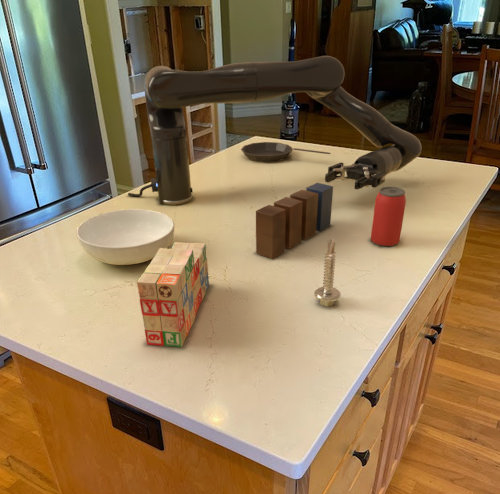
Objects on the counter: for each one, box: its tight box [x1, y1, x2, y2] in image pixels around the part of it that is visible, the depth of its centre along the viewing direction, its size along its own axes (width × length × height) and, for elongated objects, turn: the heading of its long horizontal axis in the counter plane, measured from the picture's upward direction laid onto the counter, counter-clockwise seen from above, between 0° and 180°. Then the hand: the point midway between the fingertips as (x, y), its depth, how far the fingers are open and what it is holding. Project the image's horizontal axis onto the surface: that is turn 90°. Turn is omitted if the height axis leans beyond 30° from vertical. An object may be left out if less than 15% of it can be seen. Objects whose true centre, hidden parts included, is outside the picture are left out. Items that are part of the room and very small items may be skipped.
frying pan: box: [240, 141, 332, 163], centre depth 174 cm, size 18×32×4 cm, turn 62°
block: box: [305, 182, 334, 233], centre depth 124 cm, size 5×5×10 cm
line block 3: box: [289, 189, 318, 241], centre depth 120 cm, size 5×5×10 cm
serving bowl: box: [76, 208, 175, 266], centre depth 113 cm, size 21×21×7 cm
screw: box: [313, 238, 342, 307], centre depth 93 cm, size 13×5×5 cm
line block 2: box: [273, 196, 303, 250], centre depth 116 cm, size 5×5×10 cm
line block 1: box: [255, 204, 286, 260], centre depth 112 cm, size 5×5×10 cm
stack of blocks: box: [136, 241, 210, 348], centre depth 91 cm, size 21×6×12 cm, turn 171°
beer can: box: [370, 186, 407, 247], centre depth 116 cm, size 7×7×12 cm
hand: (341, 181), depth 127 cm, fingers open, 8 cm apart
